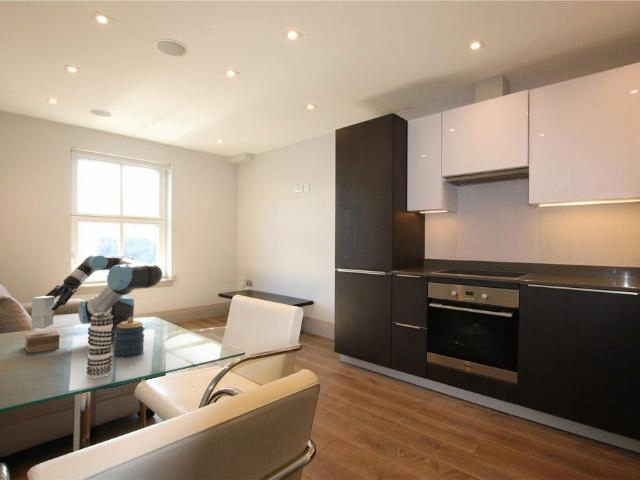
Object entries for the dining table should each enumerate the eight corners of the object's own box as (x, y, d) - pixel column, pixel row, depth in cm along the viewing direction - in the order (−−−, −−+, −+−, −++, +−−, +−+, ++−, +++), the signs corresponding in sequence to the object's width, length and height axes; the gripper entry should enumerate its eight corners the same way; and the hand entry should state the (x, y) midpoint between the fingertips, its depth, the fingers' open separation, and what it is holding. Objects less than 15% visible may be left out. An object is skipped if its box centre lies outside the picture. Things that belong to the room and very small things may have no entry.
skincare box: (43, 328, 165) (46, 298, 165) (29, 328, 163) (31, 297, 164) (53, 324, 173) (55, 295, 173) (40, 324, 172) (42, 295, 172)
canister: (138, 348, 174) (140, 313, 175) (147, 354, 165) (149, 318, 165) (109, 353, 165) (111, 316, 165) (117, 360, 156) (119, 321, 156)
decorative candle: (88, 371, 142) (91, 311, 142) (113, 369, 145) (117, 310, 146) (82, 379, 133) (85, 316, 134) (109, 377, 137) (112, 315, 137)
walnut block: (58, 349, 168) (59, 334, 168) (27, 353, 160) (27, 338, 160) (55, 343, 177) (56, 329, 177) (24, 347, 168) (25, 333, 169)
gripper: (93, 285, 181) (59, 321, 166) (67, 282, 189) (32, 316, 174) (84, 276, 176) (47, 312, 161) (57, 273, 184) (20, 307, 169)
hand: (39, 314), depth 167 cm, fingers closed on skincare box, 9 cm apart
